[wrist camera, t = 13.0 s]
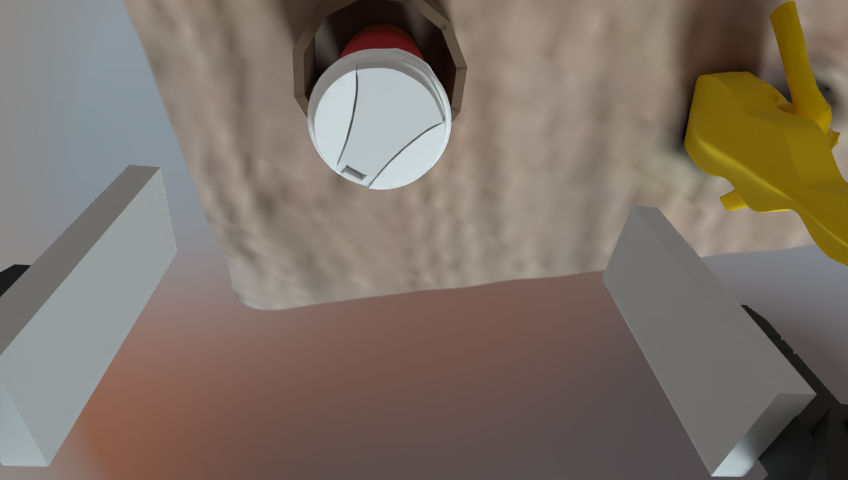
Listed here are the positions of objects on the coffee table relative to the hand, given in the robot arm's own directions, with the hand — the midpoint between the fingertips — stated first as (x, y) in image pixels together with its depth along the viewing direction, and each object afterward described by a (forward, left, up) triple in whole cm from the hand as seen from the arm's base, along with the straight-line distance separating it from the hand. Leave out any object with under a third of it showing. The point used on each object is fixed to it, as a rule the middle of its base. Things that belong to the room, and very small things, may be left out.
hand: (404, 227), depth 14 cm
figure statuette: (+4, +28, -29) cm, 41 cm away
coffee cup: (+3, -1, -29) cm, 29 cm away
